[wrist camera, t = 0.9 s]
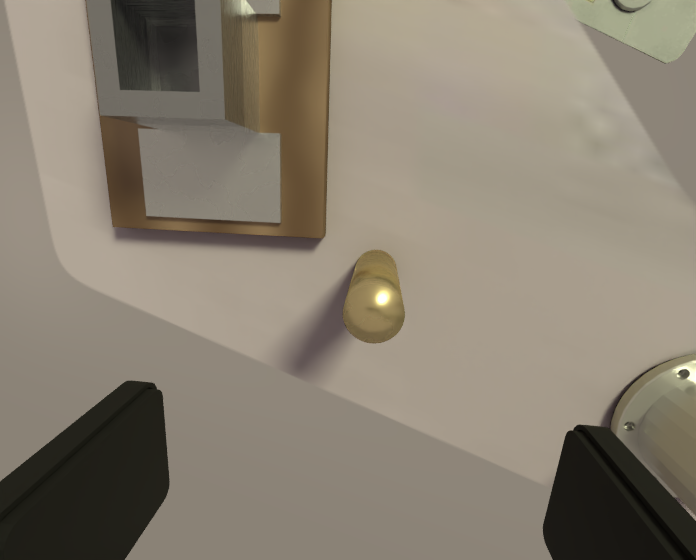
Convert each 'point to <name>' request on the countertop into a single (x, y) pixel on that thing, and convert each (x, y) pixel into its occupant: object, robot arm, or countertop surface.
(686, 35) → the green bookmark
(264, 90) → the walnut board
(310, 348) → the countertop surface
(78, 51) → the countertop surface
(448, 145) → the countertop surface
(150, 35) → the grey stepped block
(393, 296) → the hinge pin
